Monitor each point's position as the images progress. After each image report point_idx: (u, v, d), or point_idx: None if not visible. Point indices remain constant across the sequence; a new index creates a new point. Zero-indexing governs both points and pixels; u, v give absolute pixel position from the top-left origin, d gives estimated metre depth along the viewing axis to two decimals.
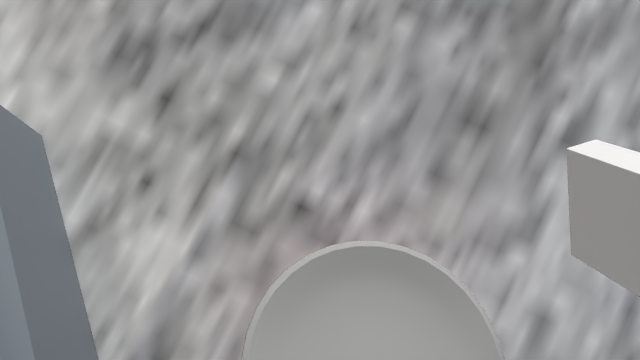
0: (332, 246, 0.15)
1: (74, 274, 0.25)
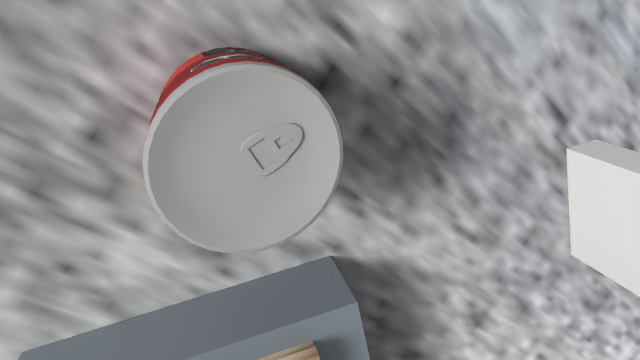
0: (147, 188, 0.19)
1: (149, 315, 0.32)
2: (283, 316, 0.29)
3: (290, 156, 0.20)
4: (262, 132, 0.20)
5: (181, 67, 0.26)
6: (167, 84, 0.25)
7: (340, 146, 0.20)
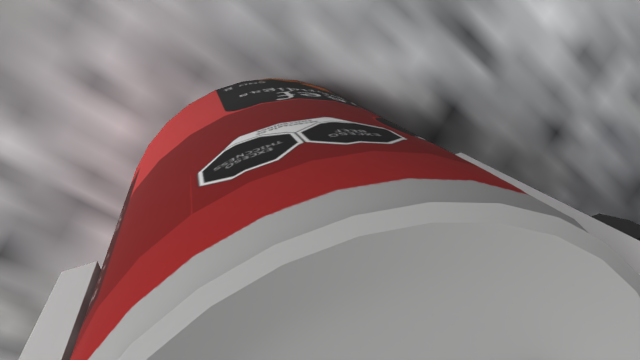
0: None
1: None
2: None
3: None
4: None
5: (174, 126, 0.12)
6: (142, 169, 0.11)
7: None
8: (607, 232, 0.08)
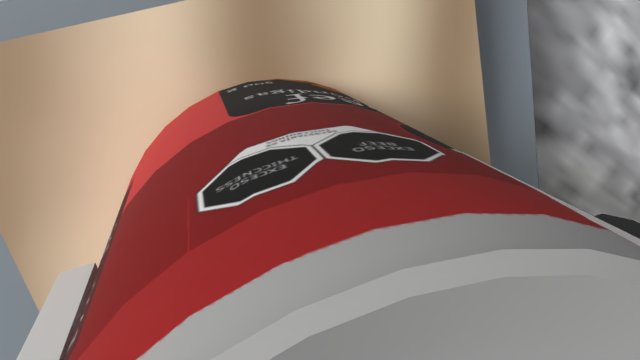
0: None
1: None
2: None
3: None
4: None
5: (172, 131, 0.11)
6: (137, 180, 0.10)
7: None
8: None
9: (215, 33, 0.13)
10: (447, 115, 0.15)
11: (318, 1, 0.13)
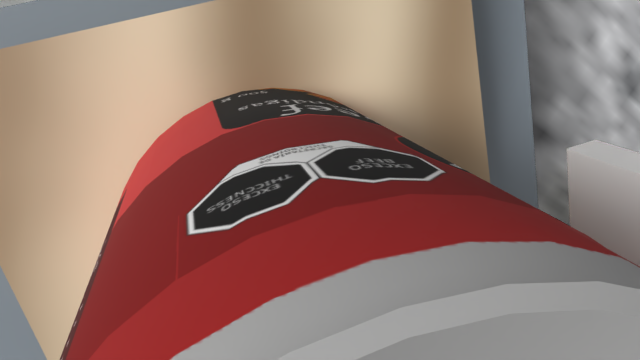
0: None
1: None
2: None
3: None
4: None
5: (165, 142, 0.11)
6: (128, 194, 0.10)
7: None
8: None
9: (209, 42, 0.13)
10: (445, 123, 0.15)
11: (314, 9, 0.13)
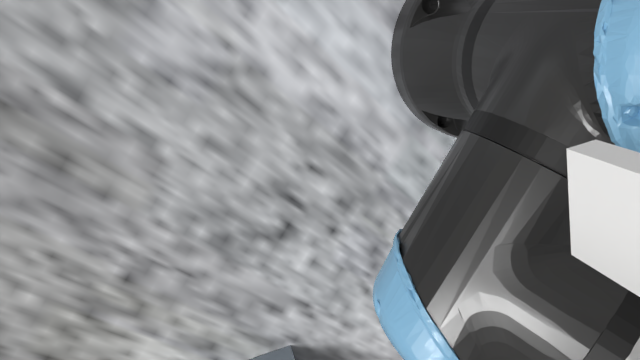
0: None
1: None
2: None
3: None
4: None
5: None
6: None
7: None
8: None
9: None
10: None
11: None
